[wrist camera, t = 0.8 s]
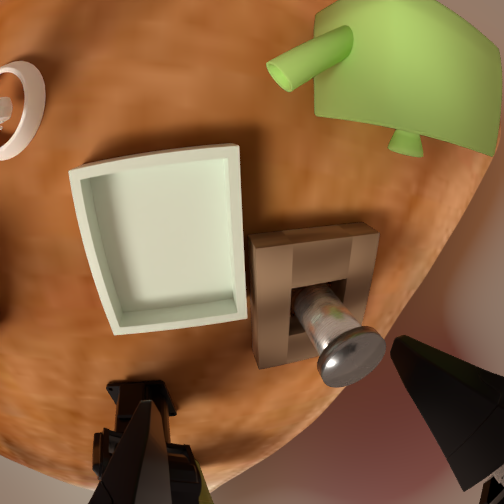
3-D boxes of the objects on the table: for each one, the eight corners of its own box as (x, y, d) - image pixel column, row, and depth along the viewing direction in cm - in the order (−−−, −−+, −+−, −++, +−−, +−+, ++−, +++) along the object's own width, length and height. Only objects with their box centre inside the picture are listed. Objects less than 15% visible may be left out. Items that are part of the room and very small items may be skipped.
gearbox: (247, 134, 18) (295, 155, 10) (251, 6, 14) (300, -57, 6) (432, 154, 22) (510, 186, 14) (438, 60, 17) (518, 65, 9)
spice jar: (327, 308, 26) (376, 375, 18) (279, 317, 25) (318, 394, 17) (333, 263, 24) (393, 327, 16) (280, 272, 23) (328, 347, 15)
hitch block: (345, 330, 28) (356, 345, 26) (252, 351, 26) (259, 369, 24) (363, 222, 23) (379, 233, 21) (247, 234, 21) (255, 248, 19)
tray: (240, 300, 23) (247, 318, 21) (118, 315, 21) (114, 335, 19) (232, 143, 18) (239, 145, 16) (81, 164, 16) (68, 170, 14)
